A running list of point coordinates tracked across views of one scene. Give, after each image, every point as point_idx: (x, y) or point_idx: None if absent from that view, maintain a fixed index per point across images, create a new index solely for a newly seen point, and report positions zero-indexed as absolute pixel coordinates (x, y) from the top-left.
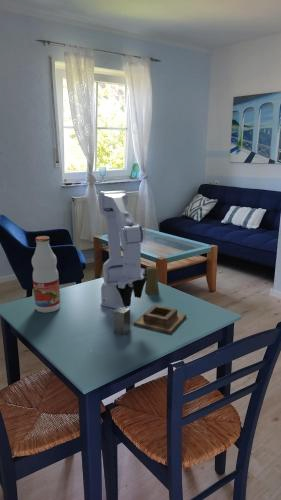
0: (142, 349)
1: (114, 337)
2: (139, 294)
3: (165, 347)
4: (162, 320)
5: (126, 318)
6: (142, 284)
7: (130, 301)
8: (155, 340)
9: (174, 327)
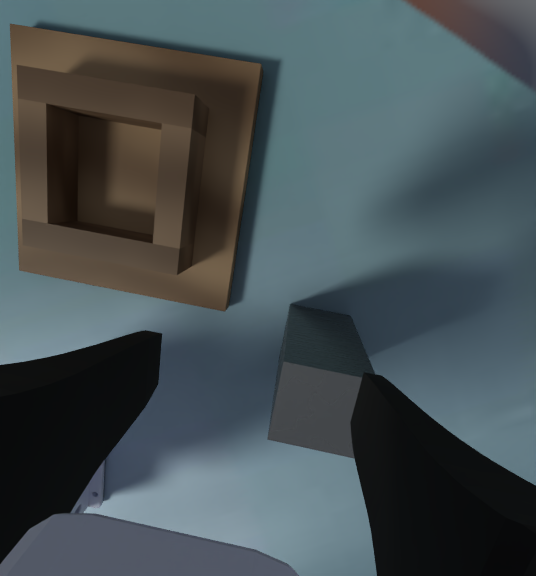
0: (474, 180)
1: (379, 354)
2: (144, 354)
3: (428, 52)
4: (194, 134)
5: (335, 347)
6: (49, 390)
7: (387, 392)
8: (361, 138)
9: (201, 55)
